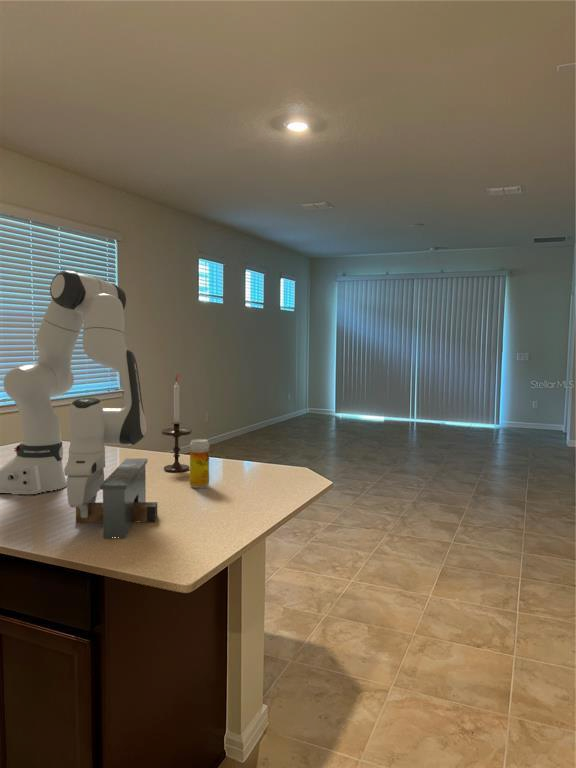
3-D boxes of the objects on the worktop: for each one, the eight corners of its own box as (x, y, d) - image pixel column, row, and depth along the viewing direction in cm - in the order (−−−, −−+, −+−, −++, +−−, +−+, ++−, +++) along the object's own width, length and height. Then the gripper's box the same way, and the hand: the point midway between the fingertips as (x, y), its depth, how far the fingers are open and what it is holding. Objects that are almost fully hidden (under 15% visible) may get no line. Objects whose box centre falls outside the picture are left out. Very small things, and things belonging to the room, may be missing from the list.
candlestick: (196, 470, 198) (196, 374, 195) (168, 474, 192) (168, 374, 189) (184, 464, 207) (184, 372, 204) (156, 468, 201) (156, 372, 198)
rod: (75, 522, 141) (75, 507, 141) (80, 517, 145) (80, 502, 145) (154, 521, 142) (154, 506, 142) (157, 516, 146) (157, 502, 146)
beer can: (205, 489, 174) (205, 442, 172) (187, 488, 175) (187, 441, 174) (211, 484, 180) (211, 439, 178) (194, 483, 181) (194, 438, 180)
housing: (100, 539, 129) (100, 485, 128) (126, 502, 158) (126, 458, 157) (126, 539, 130) (126, 485, 129) (147, 502, 159) (147, 458, 158)
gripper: (86, 453, 152) (87, 501, 153) (61, 470, 132) (62, 526, 133) (109, 453, 152) (110, 501, 153) (88, 470, 132) (89, 526, 133)
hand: (88, 513), depth 143 cm, fingers closed on rod, 4 cm apart
